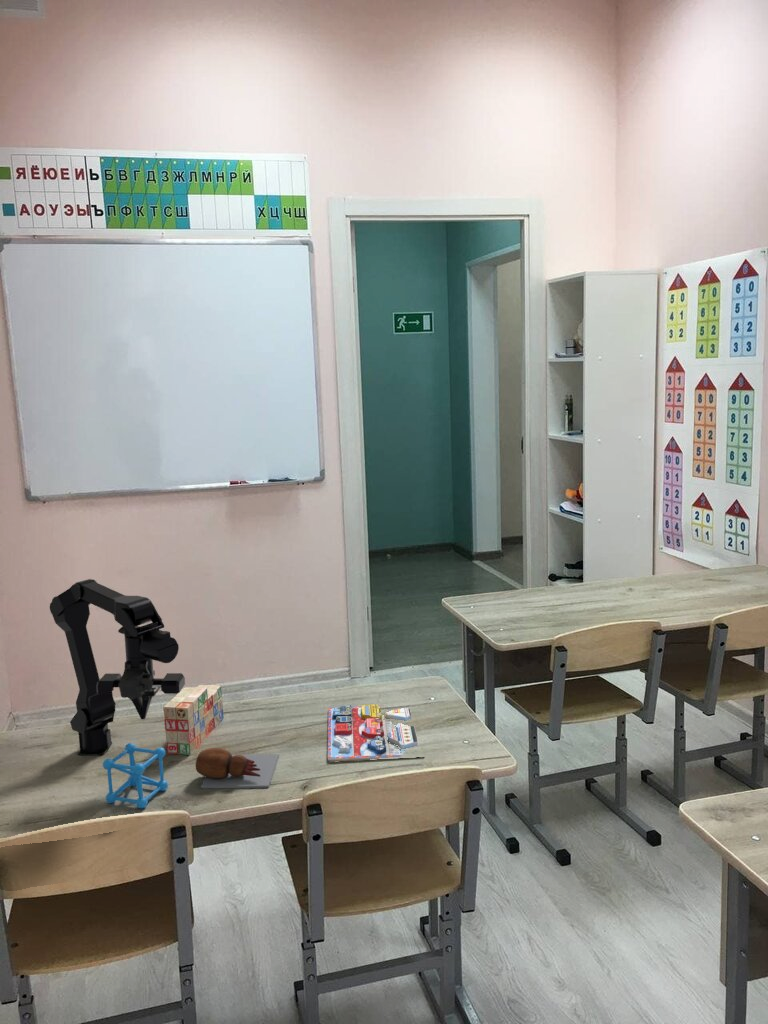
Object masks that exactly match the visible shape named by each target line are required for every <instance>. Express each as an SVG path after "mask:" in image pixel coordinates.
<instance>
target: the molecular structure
mask: <svg viewBox="0 0 768 1024" xmlns="http://www.w3.org/2000/svg"><path fill="white" fill-rule="evenodd" d="M124 746H125V747H124V751H122V752H120V753H119V754H118V755H116V756H115V757H114V758H106V759H104V760H103V762H102V767H103V769H104V770H105V771H107V773H106V774H107V781H108V782H107V783H108V793H107V794H106V795H105V801H106V802H107V803H109V804H114V803H115V802H116V801H118V802H119V801H120V802H125V803H131V804H136V807H137V808H139V809H145V808H146V807H147V806H148V800H150V798H152V797H153V796H154V795H156V794H158V792H159V791H160V792H164V791H166V790H167V789H168V787H169V783H168V781H167V780H165V778H164V767H163V766H164V765H163V764H164V763H163V758H164V757H165V756H166V754H167V751H166V750H165V748H163V747H161V746H160V747H157V748H156V749H147V748H142V747H137V746H136V744H134V742H133V743H132V742H129V743H127V744H126V745H124ZM135 752H141V753H147V754H153V756H151V757H150V758H149V759H148V760H146V761H145V762H143V763H141V762H138V763H136V760H135V755H134V753H135ZM126 754H128V756H129V765H128V764H121V763H115V762H116V761H118V760H120V759H121V758H122V757H124V756H125V755H126ZM157 759H158V765H159V766H158V769H159V779H160V780H158V781H157V780H154V779H151V778H149V777H147V776H144V775H143V774H144V773H145V770H146V769H147V768H148V767H149V766H150V765H151V764H152V763H153V762H154V761H156V760H157ZM112 769H115V770H117V771H120V772H123V773H125V774H127V775H130V776H129V777H128V778H127V780H126V781H125V782H124V783H123V784H122V785H121V786H119V788H117V790H115V791H113V778H112ZM143 785H147V786H154V787H156V788H155V789H154V790H152V792H150V793H149V794H148V795H146V796H144V791H143ZM129 786H131V787H135V786H136V790H137V796H138V798H137V799H133V798H128V797H123V796H118V795H119V794H121V793H122V792H123V791H124V790H126V789H127V788H128V787H129Z"/></svg>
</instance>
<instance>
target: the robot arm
mask: <svg viewBox="0 0 768 1024" xmlns="http://www.w3.org/2000/svg"><path fill="white" fill-rule="evenodd" d="M91 604H92V605H93V606H95V607H97V608H99V609H102V610H104V611H106V612H108V613H109V614H111V615H113V617H114V621H115V622H116V623H118V624H119V625H120V626H121V627H120V628H119V629H118V631H117V633H119V634H122V635H124V646H125V647H124V648H125V662H124V669H123V673H122V674H121V673H104V675H103V676H101V678H100V675H99V672H98V667H97V664H96V660H95V657H94V652H93V648H92V644H91V641H90V636H89V633H88V629H87V624H88V622H89V618H90V615H91V612H90V605H91ZM49 611H50V614H51V615H52V618H53V621H54V623H55V624H56V625H57V626H58V627H59V628H60V629H61V630H62V631H63V632H64V635H65V637H66V642H67V645H68V649H69V653H70V657H71V661H72V664H73V669H74V673H75V677H76V681H77V685H78V688H79V690H78V694H77V698H76V700H75V707H76V713H75V715H74V716H73V717H72V718H71V720H70V721H69V723H70V726H71V729H72V731H74V732H77V734H78V745H79V750H78V751H77V753H76V754H77V755H78V756H103V755H105V754H106V752H107V751H108V749H110V747H111V745H112V744H113V741H112V736H111V735H112V734H111V729H110V728H109V724H110V723H113V722H114V718H115V713H116V702H115V699H114V696H113V691H115V689H114V688H118V689H119V692H120V693H119V694H120V697H121V698H124V699H127V698H128V699H129V700H130V701H131V703H132V705H133V706H134V708H135V710H136V712H137V713H138V715H139V716H138V717H140V720H145V719H146V718H147V715H148V712H149V709H150V708H149V707H150V705H151V702H152V700H153V699H152V698H153V697H155V696H156V694H158V692H159V691H160V690H161V692H162V693H163V694H166V695H169V694H171V695H177V694H178V693H180V691H181V690H182V689H183V688H184V686H185V685H186V678H185V675H184V674H183V673H182V672H178V673H177V672H174V673H173V672H170V673H169V672H168V673H166V674H165V676H164V677H163V678H160V677H159V678H158V677H156V678H155V675H156V671H155V670H154V661H157V662H160V663H162V664H169V663H172V662H173V661H174V660H175V659H176V658H177V655H178V654H179V647H180V646H179V643H178V641H177V640H176V638H174V637H171V632H170V631H169V630H162V629H164V628H165V625H164V622H163V619H162V617H161V616H160V614H159V613H158V610H157V608H156V607H155V605H154V603H153V602H152V600H151V599H149V598H148V597H146V596H141V595H126V594H125V595H124V594H123V593H121V592H118V591H116V590H114V589H113V588H110V587H107V586H105V585H102V584H100V583H98V582H97V580H95V579H92V578H87V579H85V580H80V581H77V582H75V583H74V584H72V585H71V586H69V588H68V589H66V590H64V591H63V592H61V593H60V594H57V595H55V596H53V597H52V600H51V602H50V603H49ZM146 623H147V624H146ZM141 625H142V626H141Z"/></svg>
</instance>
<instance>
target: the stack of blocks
mask: <svg viewBox="0 0 768 1024" xmlns="http://www.w3.org/2000/svg"><path fill="white" fill-rule="evenodd" d="M163 714H164V715H163V717H164V719H163V720H164V730H165V742H166V754H172V755H185V756H186V755H187V756H188V755H189V756H191V755H193V753H194V752H195V751H196V750H197V749H198V748H199V747H200V746H201V745H202V744H203V742H204V741H206V739H207V737H208V736H209V735H210V734H211V733H212V732H213V731H214V729H215V728H216V727H217V726H218V725H219V724H220V723H221V722H222V721H223V719H224V718H225V717H224V702H223V694H222V685H214V684H213V685H212V684H211V685H208V684H207V685H206V684H199V685H197V687H186V686H185V687H184V686H183V688H182V689H181V691H180V693H177V694H175V696H174V697H172V699H171V700H169V702H167V703H166V704H165V705H164V706H163Z"/></svg>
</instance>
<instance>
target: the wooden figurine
mask: <svg viewBox="0 0 768 1024" xmlns="http://www.w3.org/2000/svg"><path fill="white" fill-rule="evenodd" d="M232 755H233V754H232V753H231V751H229V750H227V749H225V748H220V747H211V748H206V749H204V750H201V751H200V752H199V754H198V756H197V757H196V760H195V770H196V772H197V773H198V774H200V775H201V776H203V777H208V778H212V779H221V778H224V777H226V776H227V775H228V774H230V775H231V776H234V777H241V776H243V775H249V776H259V777H260V775H259V774H257V773H254V772H252V771H259V770H260V769H258V768H255V767H256V766H257V765H256V764H253V763H254V761H252V760H249V759H247V758H246V757H244V756H242V755H243V754H234V755H235V756H233V757H232Z"/></svg>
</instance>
